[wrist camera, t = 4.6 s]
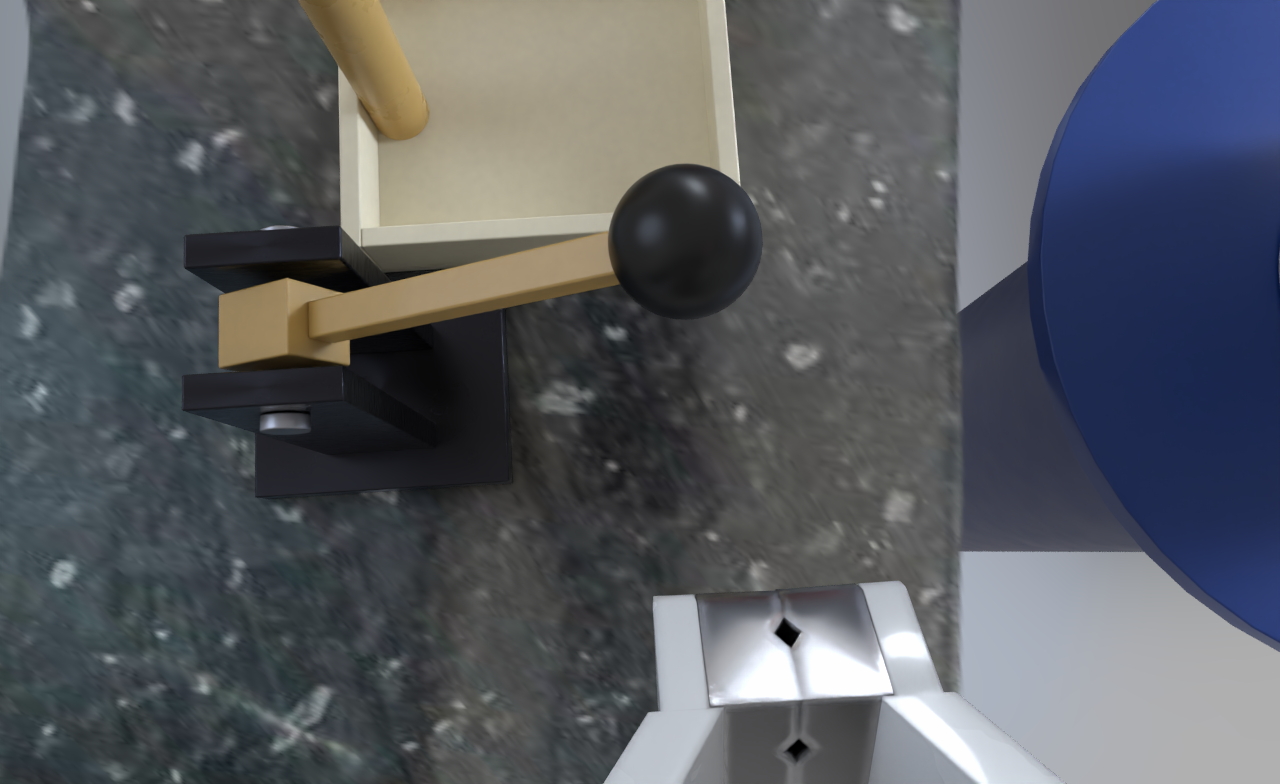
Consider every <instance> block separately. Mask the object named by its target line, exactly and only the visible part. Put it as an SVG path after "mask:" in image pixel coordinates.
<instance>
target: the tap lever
mask: <svg viewBox="0 0 1280 784" xmlns="http://www.w3.org/2000/svg"><path fill="white" fill-rule="evenodd" d="M762 245H763V242H762V229H761V223H760V219H759V216H758V213H757V211H756V209H755V207H754V205H753V203H752V201H751V199H750V198H749V196H748V195H747V193H746V192H745V191H744V190H743V189H742V188H741V187H740V186H739V185H738V184H737V183H736V182H735V181H734V180H733V179H731V178H730V177H728V176H727V175H725V174H723V173H722V172H720V171H718V170H716V169H713V168H711V167H707V166H703V165H699V164H690V163H686V164H673V165H668V166H664V167H661V168H658V169H656V170H654V171H652V172H650V173H647V174H646V175H644V176H643V177H641V178H640V179H639V180H637V181H636V182H635V183H634V184H633V185H632V186H631V187H630V188H629V189H628V190H627V191H626V193H625V194H624V195H623V196H622V198H621V200H620V201H619V203H618V204H617V207H616V209H615V211H614V213H613V216H612V219H611V222H610V227H609V231H606V232H602V233H598V234H594V235H589V236H585V237H581V238H577V239H572V240H568V241H564V242H560V243H555V244H551V245H547V246H543V247H538V248H534V249H530V250H526V251H521V252H517V253H513V254H509V255H504V256H500V257H496V258H492V259H487V260H483V261H479V262H475V263H470V264H466V265H462V266H458V267H453V268H449V269H445V270H441V271H436V272H432V273H428V274H424V275H419V276H415V277H411V278H407V279H402V280H398V281H394V282H390V283H386V284H381V285H377V286H373V287H369V288H364V289H360V290H356V291H352V292H347V293H341V292H338V291H334V290H330V289H326V288H323V287H319V286H315V285H312V284H308V283H304V282H301V281H297V280H293V279H290V278H285V279H281V280H277V281H273V282H269V283H265V284H261V285H257V286H253V287H249V288H245V289H241V290H238V291H234V292H230V293H226V294H222V295H220V296H219V368H221V369H227V370H233V371H239V372H240V371H256V370H272V369H288V368H304V367H320V366H336V365H342V366H344V367H345V366H349V365H350V340H352V339H357V338H361V337H366V336H371V335H376V334H381V333H386V332H391V331H395V330H400V329H405V328H410V327H415V326H420V325H425V324H429V323H434V322H439V321H444V320H449V319H454V318H459V317H463V316H468V315H473V314H478V313H483V312H488V311H493V310H497V309H502V308H507V307H512V306H517V305H522V304H527V303H531V302H536V301H541V300H546V299H551V298H556V297H561V296H565V295H570V294H575V293H580V292H585V291H590V290H595V289H599V288H604V287H609V286H614V285H619V284H620V285H621V286H622V288H623V289H624V290H625V292H626V293H627V294H628V295H629V296H630V297H631V298H632V299H633V300H634V301H635V302H636V303H638V304H639V305H641V306H642V307H643V308H645V309H647V310H649V311H651V312H653V313H655V314H657V315H660V316H663V317H667V318H672V319H683V320H688V319H698V318H702V317H706V316H709V315H712V314H714V313H717V312H719V311H721V310H723V309H724V308H726V307H728V306H729V305H730V304H732V303H733V302H734V301H736V300H737V299H738V298H739V297H740V296H741V295H742V294H743V292H744V291H745V290H746V289H747V287H748V286H749V284H750V283H751V281H752V279H753V277H754V275H755V273H756V271H757V269H758V266H759V263H760V259H761V254H762Z"/></svg>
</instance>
